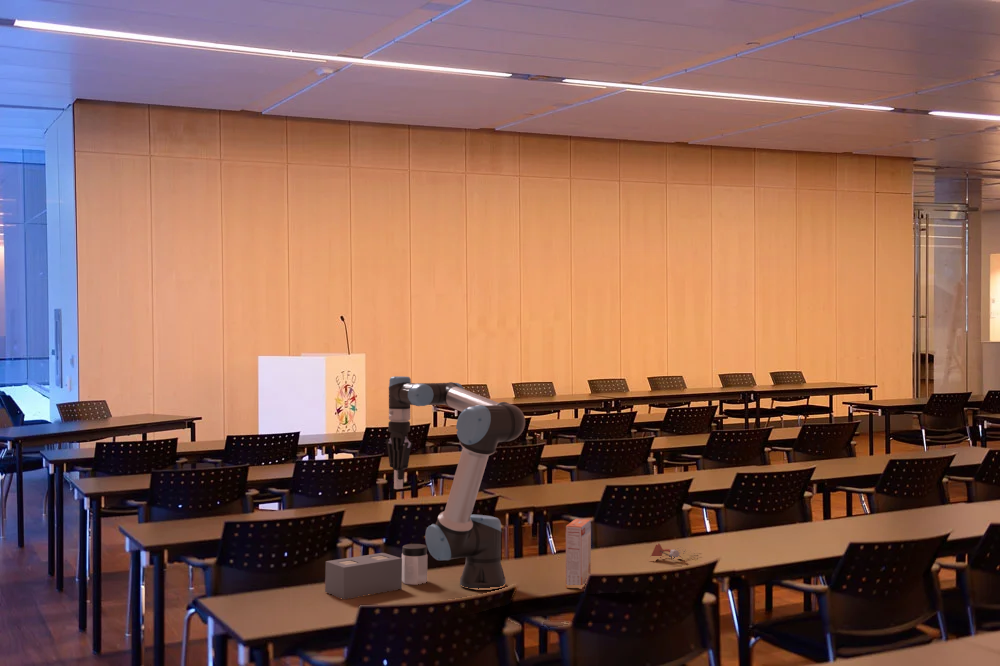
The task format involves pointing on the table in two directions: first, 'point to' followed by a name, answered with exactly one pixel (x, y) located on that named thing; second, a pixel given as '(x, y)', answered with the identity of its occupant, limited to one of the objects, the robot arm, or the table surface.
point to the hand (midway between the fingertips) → (398, 488)
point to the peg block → (363, 575)
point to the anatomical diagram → (659, 552)
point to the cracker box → (578, 551)
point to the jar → (414, 564)
